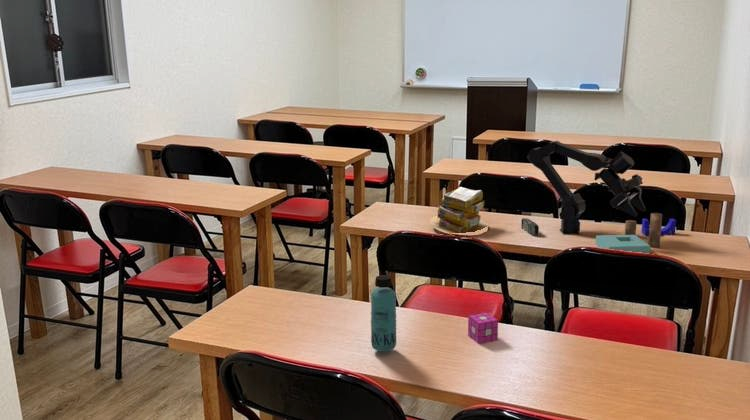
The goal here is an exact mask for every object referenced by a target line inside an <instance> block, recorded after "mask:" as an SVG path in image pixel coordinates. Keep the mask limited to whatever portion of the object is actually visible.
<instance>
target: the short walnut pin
mask: <svg viewBox="0 0 750 420" xmlns="http://www.w3.org/2000/svg"><path fill="white" fill-rule="evenodd" d="M637 224H638V223H637V220H633V219H632V220H631V219H630V220H629V219H627V220H625V225H624V226H625V227H624V235H636V236H637Z"/></svg>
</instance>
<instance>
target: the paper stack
mask: <svg viewBox="0 0 750 420" xmlns="http://www.w3.org/2000/svg"><path fill="white" fill-rule="evenodd" d="M483 192H484V191H483V190H481V189H479V190H478V189H477V190H475V189H472V188H471V189H470V188H466V187H462V186H459V187H458V188H456V189H453V190H451V191H450V192H447V193H444V195H443V197H442V199H441V204H437V206H438V209H437V215H435V216H433V217H431V218H430V219H429V224H430V226H431V227H432V228H434V229H435V230H437V231H439V232H442V233H445V234H447V235H448V234H449V235H451V234H450V233H466V232H475V231H477V230H481V229H483V228H485V227H487V226H489V225H488V224H487V223H486V222H485V221H484V220H481V215H480V214H479V213H480V211H481V210H482V209H483V208H484V206H485V200H483V196H484V193H483Z"/></svg>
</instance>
